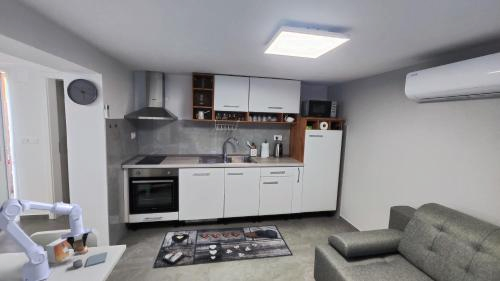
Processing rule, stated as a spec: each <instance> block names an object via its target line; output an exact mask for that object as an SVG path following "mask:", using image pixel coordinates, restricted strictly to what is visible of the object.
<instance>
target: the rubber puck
mask: <svg viewBox="0 0 500 281" xmlns="http://www.w3.org/2000/svg"><path fill="white" fill-rule="evenodd" d="M82 267H83V260H82V259H76V260H75V261H73V262H72V268H73V270H79V269H81V268H82Z"/></svg>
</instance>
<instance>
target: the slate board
mask: <svg viewBox="0 0 500 281" xmlns="http://www.w3.org/2000/svg"><path fill="white" fill-rule="evenodd" d="M107 255H108V251H106V252H101V253H97V254H93V255H89V256H88V259H87V260H86V264H85V268H87V267H91V266H95V265H99V264H104V263H105V262H106V260H107V259H106V258H107Z"/></svg>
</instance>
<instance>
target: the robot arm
mask: <svg viewBox="0 0 500 281" xmlns="http://www.w3.org/2000/svg"><path fill="white" fill-rule="evenodd" d="M30 210H40V211H50V212H51V214H55V215H56V214H57V215H63V216H65V215H68V218H69V219H68V220H69V221H68V222H69V229H70V232H68V233H65V234H62V235H61V236H60V238H61V240H63V239H67V242H68V245H70V246H71V247H72V249H73V244H74V242H75V238H77V237H79V236H81V239H82V240H83V246H84V247H85V246H87V240H88V236H89V234H93V233H94V228H87V229H86V228H85V229H84V223H83V215H82V213H83V209H82V207H81V206H80V205H79V204H77V203H73V202H72V203H71V202H70V203H65V202H63V201H59V202H58V201H57V202H54V203H48V202H41V201H36V200H30V199H24V198H22V199H21V198H20V199H18V198H9V199H7V200H5V201H4V202H3V203H2V204H1V206H0V229H1V230H2V231H3V233H5V234H6V236H7V237H9V238H10V240H12V241H13V243H15V244H16V245H17V246H18V247H19V248H20V250H22V252H24V254H25V255H26V257H27V258H28V262H27V263H24V264H23V266H22V268H21V276H22V281H43V280H44V281H45V280H47V279H48V278H49V277H50V275H51V274H52V272H53V268H50V267H49V266H50V265H49V262H48V257H47V252H46V251H45V248H44V246H42V245H40V244H37V243H36V242H34V240H32V239H31V238H30V236H29V235H28V234H26V233H25V231H24V230H23V229H22V228H21V227H20V226H19V225H18V224H17V223H16V222H15V220H16V218H17V216H18V215H20V214H21V212H23V213H26V212H27V211H30Z"/></svg>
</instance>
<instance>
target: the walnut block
mask: <svg viewBox="0 0 500 281" xmlns="http://www.w3.org/2000/svg"><path fill="white" fill-rule="evenodd" d="M84 248H85V247H84V246H83V240H82V238H81V239H76V240H75V239H74V244H73V248H72V250H73V253H78V252H79V253H80V251H84Z"/></svg>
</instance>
